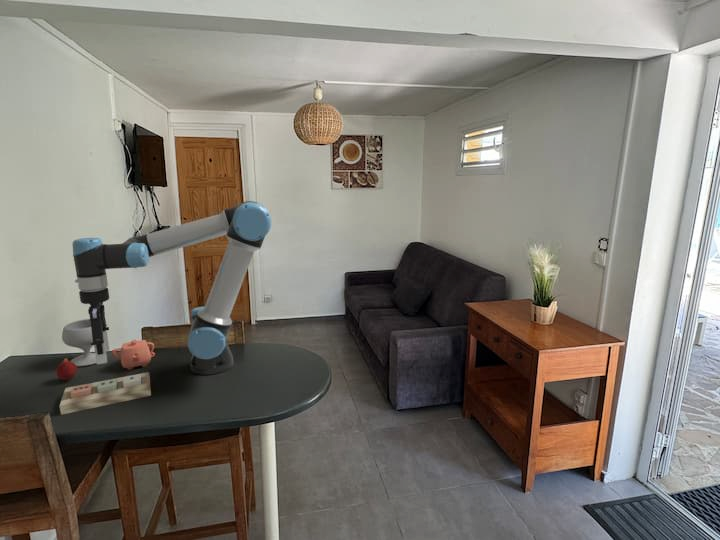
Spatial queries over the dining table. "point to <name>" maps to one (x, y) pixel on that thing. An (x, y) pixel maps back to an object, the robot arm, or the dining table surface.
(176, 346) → the dining table surface
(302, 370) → the dining table surface
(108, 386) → the key two
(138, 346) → the teapot
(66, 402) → the key board
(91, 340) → the chalice
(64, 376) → the onion
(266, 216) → the robot arm
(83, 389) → the key three
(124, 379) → the key one
